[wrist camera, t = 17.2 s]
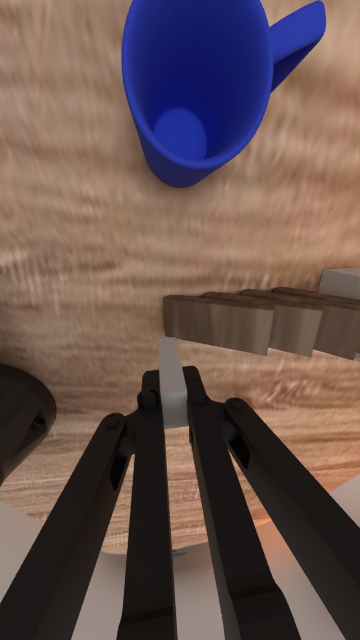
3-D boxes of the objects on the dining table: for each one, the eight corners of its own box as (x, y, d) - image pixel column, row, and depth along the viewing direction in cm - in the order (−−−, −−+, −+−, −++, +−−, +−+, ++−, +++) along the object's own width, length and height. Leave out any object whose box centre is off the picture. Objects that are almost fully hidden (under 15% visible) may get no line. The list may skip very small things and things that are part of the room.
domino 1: (165, 336, 26) (266, 355, 21) (163, 298, 24) (273, 311, 19) (172, 330, 27) (267, 347, 23) (170, 294, 25) (274, 305, 21)
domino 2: (203, 332, 26) (310, 357, 21) (204, 295, 24) (322, 311, 19) (209, 327, 28) (310, 349, 22) (210, 291, 26) (322, 305, 20)
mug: (264, 156, 21) (350, 95, 12) (160, 211, 22) (166, 193, 13) (240, 50, 18) (333, -148, 9) (119, 119, 18) (86, 3, 9)
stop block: (308, 330, 30) (367, 366, 22) (323, 269, 27) (399, 284, 18) (333, 328, 30) (400, 362, 22) (350, 267, 27) (437, 281, 19)
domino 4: (269, 324, 28) (389, 363, 19) (274, 289, 26) (411, 313, 17) (276, 321, 29) (393, 356, 20) (281, 286, 27) (414, 308, 18)
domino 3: (248, 289, 26) (370, 307, 19) (244, 323, 28) (354, 352, 21) (242, 292, 25) (370, 312, 18) (238, 328, 27) (353, 360, 20)
